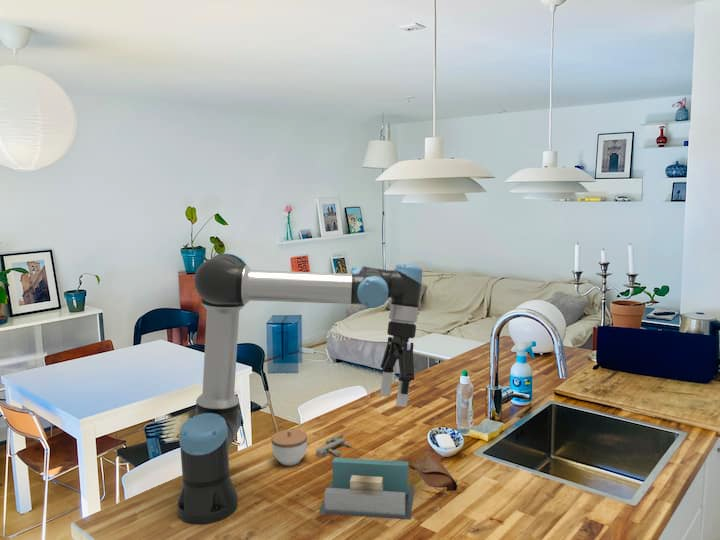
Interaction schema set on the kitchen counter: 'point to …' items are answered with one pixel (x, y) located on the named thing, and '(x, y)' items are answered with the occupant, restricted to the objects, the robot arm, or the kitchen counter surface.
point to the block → (366, 483)
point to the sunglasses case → (434, 472)
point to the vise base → (368, 503)
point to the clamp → (326, 449)
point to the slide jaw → (372, 473)
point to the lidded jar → (289, 446)
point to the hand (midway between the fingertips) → (392, 400)
